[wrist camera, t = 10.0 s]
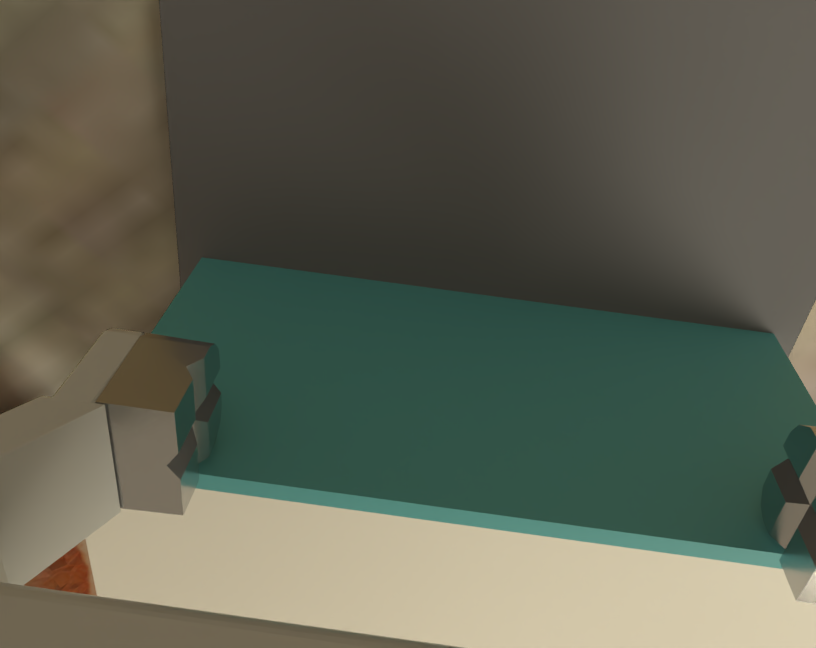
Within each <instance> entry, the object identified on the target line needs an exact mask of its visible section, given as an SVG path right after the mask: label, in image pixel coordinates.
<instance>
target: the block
mask: <svg viewBox="0 0 816 648" xmlns="http://www.w3.org/2000/svg"><path fill="white" fill-rule="evenodd" d="M151 334H158V335H164V336H170V337H177V338H183V339H189V340H195V341H202V342H208V343H214V344H216V346H217V347H218V348H219V356H220V370H219V372H218V374H217V376H216V378H215V380H214V382H213V383H214V385H215V386H216V387H217V388H218V389H219V391H220V392H221V398H222V409H221V421H220V426H219V430H218V434H217V438H216V442H215V445H214V447H213V449H212V452H211V454H210V457H208V458H207V459H205V460H203V461H202V462H200V463H198V464H199V482H198V484H197V486H196V488H195V490H194V493H193V495H192V497H191V499H190V502H189V504H188V506H187V508H186V511H185V513H184V515H175V514H166V513H158V512H149V511H140V510H131V509H122V508H120V509H121V512H120V513H119V514H117V515H116V516H115V517H113V518H112V519H111V520H109V521H108V522H107V523H105V524H104V525H103V526H101V527H100V528H99V529H97V530H96V531H95V532H93V533H92V534H91V535H89V536H88V537H87V538H85V539H86V544H87V549H88V554H89V559H90V564H91V569H92V574H93V579H94V584H95V588H96V593H97V596H102V597H109V598H116V599H124V600H131V601H138V602H145V603H152V604H159V605H166V606H173V607H180V608H187V609H194V610H202V611H209V612H216V613H223V614H230V615H237V616H244V617H251V618H258V619H265V620H273V621H280V622H287V623H294V624H301V625H308V626H315V627H322V628H329V629H336V630H343V631H351V632H358V633H365V634H372V635H379V636H386V637H393V638H400V639H407V640H414V641H422V642H429V643H436V644H443V645H450V646H457V647H464V648H816V604H811V603H805V602H799V601H796V600H795V597H794V595H793V593H792V590H791V588H790V585H789V583H788V581H787V578H786V576H785V573H784V571H783V569H782V566H781V564H780V561H779V560H780V558H781V556H782V554H783V552H784V550H785V549H784V548H783V547H782V546H781V545H780V544H779V543H778V542H777V541H775V540H774V539H773V538H772V537H771V536H770V535H769V534H768V532H767V529H766V527H765V524H764V522H763V518H762V511H761V497H762V488H763V485H764V482H765V480H766V478H767V476H768V474H769V472H770V470H771V468H773V467H775V466H776V465H778V464H780V463H781V462H783V461H785V460H786V459H788V458H787V455H786V452H785V450H784V447H783V445H784V443H785V441H786V439H787V437H788V435H789V434H790V432H791V431H792V430H793V429H794V428H796V427H797V426H798V425H799V424H800V425H808V426H815V427H816V405H815V403H814V402H813V400H812V398H811V396H810V395H809V393H808V391H807V390H806V388H805V386H804V384H803V383H802V381H801V379H800V378H799V376H798V374H797V372H796V371H795V369H794V367H793V366H792V364H791V362H790V360H789V359H788V357H787V355H786V354H785V352H784V350H783V349H782V347H781V345H780V343H779V342H778V340H777V338H776V337H775V335H774V334H772V333H765V332H757V331H750V330H742V329H735V328H727V327H720V326H712V325H705V324H697V323H690V322H682V321H675V320H668V319H660V318H653V317H645V316H638V315H630V314H623V313H615V312H608V311H600V310H593V309H585V308H578V307H570V306H563V305H555V304H548V303H540V302H533V301H525V300H518V299H510V298H503V297H495V296H488V295H480V294H473V293H465V292H458V291H450V290H443V289H435V288H428V287H420V286H413V285H405V284H398V283H390V282H383V281H375V280H368V279H360V278H353V277H345V276H338V275H330V274H323V273H315V272H308V271H300V270H293V269H285V268H278V267H270V266H263V265H255V264H248V263H240V262H233V261H225V260H218V259H210V258H203V257H202V258H201V259H200V261H199V262H198V264H197V265H196V267H195V268H194V270H193V271H192V273H191V274H190V276H189V277H188V279H187V280H186V282H185V283H184V285H183V286H182V288H181V289H180V291H179V292H178V294H177V295H176V297H175V298H174V300H173V301H172V303H171V304H170V306H169V307H168V309H167V310H166V312H165V313H164V315H163V316H162V318H161V319H160V321H159V322H158V324H157V325H156V327H155V328H154V330H153V331H152V332H151Z"/></svg>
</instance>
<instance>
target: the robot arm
mask: <svg viewBox="0 0 816 648" xmlns="http://www.w3.org/2000/svg"><path fill="white" fill-rule="evenodd" d="M219 370H220V356H219V348H218V347H217V346H216V344H214V343H208V342H202V341H195V340H189V339H183V338H177V337H170V336H164V335H158V334H151V333H146V334H145V333H143V332H137V331H130V330H123V329H116V328H111V329H108V330H105V331H104V332H103V333H102V334H101V335H100V337H99V338H98V339H97V340H96V342H95V343H94V344H93V346H92V347H91V348H90V349H89V351H88V352H87V353H86V355H85V356H84V357H83V358H82V360H81V361H80V362H79V364H78V365H77V366H76V368H75V369H74V370H73V371H72V373H71V374H70V375H69V377H68V378H67V379H66V380H65V382H64V383H63V384H62V386H61V387H60V388H59V389H58V391H57V392H56V393H55V395H54V396H53V397H46V396H40V397H38V398H36V399H34V400H31V401H29V402H27V403H25V404H22V405H20V406H18V407H16V408H13V409H11V410H9V411H7V412H4V413H2V414H0V648H464V647H457V646H450V645H443V644H436V643H429V642H422V641H414V640H407V639H400V638H393V637H386V636H379V635H372V634H365V633H358V632H351V631H343V630H336V629H329V628H322V627H315V626H308V625H301V624H294V623H287V622H280V621H273V620H265V619H258V618H251V617H244V616H237V615H230V614H223V613H216V612H209V611H202V610H194V609H187V608H180V607H173V606H166V605H159V604H152V603H145V602H138V601H131V600H124V599H116V598H109V597H102V596H95V595H88V594H81V593H74V592H67V591H60V590H53V589H45V588H38V587H31V586H24V585H25V584H26V583H27V582H29V581H30V580H31V579H33V578H34V577H35V576H37V575H38V574H39V573H41V572H42V571H43V570H44V569H46V568H47V567H48V566H50V565H51V564H52V563H54V562H55V561H56V560H58V559H59V558H60V557H62V556H63V555H64V554H66V553H67V552H68V551H70V550H71V549H72V548H74V547H75V546H76V545H78V544H79V543H80V542H82V541H83V540H84V539H85V538H87V537H88V536H89V535H91V534H92V533H93V532H95V531H96V530H97V529H99V528H100V527H101V526H103V525H104V524H105V523H107V522H108V521H109V520H111V519H112V518H113V517H115V516H116V515H117V514H119V513H120V512H121V509H120V508H122V509H131V510H140V511H149V512H158V513H166V514H175V515H184V513H185V511H186V508H187V506H188V504H189V502H190V499H191V497H192V495H193V493H194V490H195V488H196V486H197V484H198V482H199V464H198V463H200V462H202V461H203V460H205V459H207V458H208V457H210V454H211V452H212V449H213V447H214V445H215V442H216V438H217V434H218V430H219V426H220V421H221V409H222V398H221V392H220V391H219V389H218V388H217V387H216V386H215V385H214V383H213V382H214V380H215V378H216V376H217V374H218V372H219ZM783 447H784V450H785V452H786V455H787V458H788V459H786V460H785V461H783V462H781V463H780V464H778V465H776V466H775V467H773V468H771V470H770V472H769V474H768V476H767V478H766V480H765V482H764V485H763V488H762V497H761V511H762V518H763V522H764V524H765V527H766V529H767V532H768V534H769V535H770V536H771V537H772V538H773V539H774V540H775V541H777V542H778V543H779V544H780V545H781V546H782V547H783V548H784V549H785V550H784V552H783V554H782V556H781V558H780V560H779V561H780V564H781V566H782V569H783V571H784V573H785V576H786V578H787V581H788V583H789V585H790V588H791V590H792V593H793V595H794V597H795V600H796V601H799V602H805V603H811V604H816V427H815V426H808V425H800V424H799V425H798V426H797V427H796V428H794V429H793V430H792V431H791V432H790V434H789V435H788V437H787V439H786V441H785V443H784V445H783Z"/></svg>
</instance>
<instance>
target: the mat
mask: <svg viewBox="0 0 816 648" xmlns="http://www.w3.org/2000/svg"><path fill="white" fill-rule="evenodd" d="M159 6H160V20H161V33H162V46H163V60H164V73H165V86H166V99H167V113H168V126H169V139H170V153H171V166H172V179H173V193H174V206H175V219H176V232H177V246H178V259H179V272H180V286H181V288H182V286H183V285H184V283H185V282H186V280H187V279H188V277H189V276H190V274H191V273H192V271H193V270H194V268H195V267H196V265H197V264H198V262H199V261H200V259H201V258H202V257H203V258H210V259H218V260H225V261H233V262H240V263H248V264H255V265H263V266H270V267H278V268H285V269H293V270H300V271H308V272H315V273H323V274H330V275H338V276H345V277H353V278H360V279H368V280H375V281H383V282H390V283H398V284H405V285H413V286H420V287H428V288H435V289H443V290H450V291H458V292H465V293H473V294H480V295H488V296H495V297H503V298H510V299H518V300H525V301H533V302H540V303H548V304H555V305H563V306H570V307H578V308H585V309H593V310H600V311H608V312H615V313H623V314H630V315H638V316H645V317H653V318H660V319H668V320H675V321H682V322H690V323H697V324H705V325H712V326H720V327H727V328H735V329H742V330H750V331H757V332H765V333H772V334H774V335H775V337H776V338H777V340H778V342H779V343H780V345H781V347H782V349H783V350H784V352H785V354H786V355H787V357H789V354H790V352H791V350H792V348H793V346H794V344H795V342H796V340H797V338H798V336H799V334H800V332H801V329H802V327H803V325H804V323H805V321H806V319H807V317H808V315H809V313H810V311H811V309H812V306H813V304H814V302H815V300H816V0H159Z"/></svg>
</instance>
